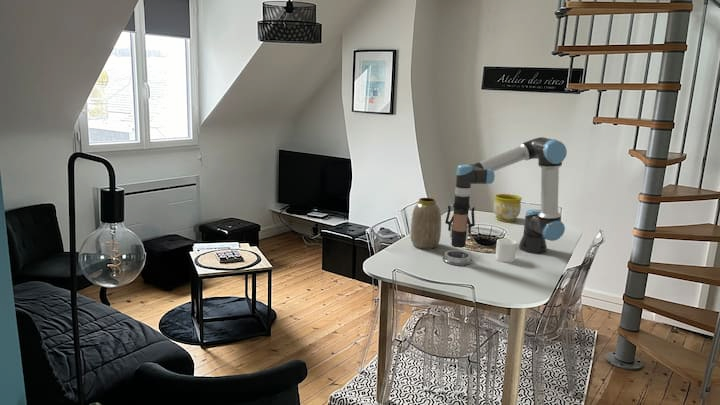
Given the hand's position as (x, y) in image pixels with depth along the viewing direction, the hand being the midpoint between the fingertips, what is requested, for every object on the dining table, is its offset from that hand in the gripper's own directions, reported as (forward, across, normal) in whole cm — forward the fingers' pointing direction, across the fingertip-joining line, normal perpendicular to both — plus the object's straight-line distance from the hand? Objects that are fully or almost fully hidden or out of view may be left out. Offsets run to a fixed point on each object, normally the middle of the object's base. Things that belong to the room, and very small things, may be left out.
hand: (458, 237), depth 274 cm
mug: (+13, -25, -12) cm, 31 cm away
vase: (+13, +20, -21) cm, 32 cm away
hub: (+13, 0, 0) cm, 13 cm away
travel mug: (+4, 0, 0) cm, 4 cm away
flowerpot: (+12, -26, -98) cm, 102 cm away
